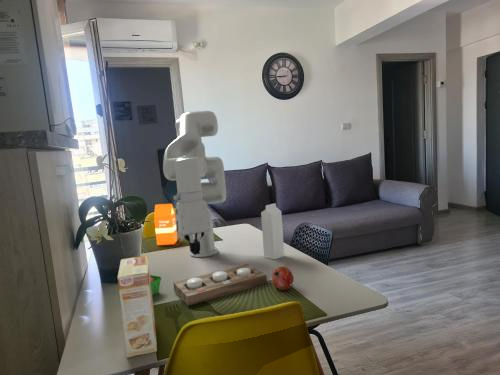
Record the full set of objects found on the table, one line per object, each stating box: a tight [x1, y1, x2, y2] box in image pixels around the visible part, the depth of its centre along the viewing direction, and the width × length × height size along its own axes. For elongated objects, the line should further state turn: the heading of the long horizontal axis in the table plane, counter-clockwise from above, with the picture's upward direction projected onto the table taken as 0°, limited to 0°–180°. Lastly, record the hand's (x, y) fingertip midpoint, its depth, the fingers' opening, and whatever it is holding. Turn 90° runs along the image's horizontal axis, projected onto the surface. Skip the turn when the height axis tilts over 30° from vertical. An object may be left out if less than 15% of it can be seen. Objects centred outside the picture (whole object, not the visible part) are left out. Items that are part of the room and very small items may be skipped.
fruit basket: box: [150, 274, 162, 296], centre depth 117 cm, size 11×9×11 cm
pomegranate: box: [271, 265, 295, 291], centre depth 116 cm, size 7×7×10 cm
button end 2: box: [237, 268, 251, 277], centre depth 125 cm, size 5×5×2 cm
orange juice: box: [153, 203, 178, 246], centre depth 182 cm, size 8×9×20 cm
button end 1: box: [187, 277, 202, 290], centre depth 116 cm, size 5×5×2 cm
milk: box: [260, 202, 285, 261], centre depth 147 cm, size 6×6×22 cm
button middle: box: [213, 271, 227, 283], centre depth 120 cm, size 5×5×2 cm
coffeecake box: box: [117, 255, 158, 358], centre depth 90 cm, size 15×7×20 cm, turn 17°
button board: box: [173, 263, 268, 307], centre depth 120 cm, size 14×28×3 cm, turn 119°
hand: (195, 253), depth 115 cm, fingers closed
